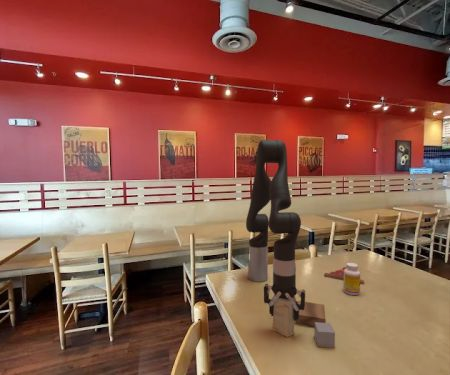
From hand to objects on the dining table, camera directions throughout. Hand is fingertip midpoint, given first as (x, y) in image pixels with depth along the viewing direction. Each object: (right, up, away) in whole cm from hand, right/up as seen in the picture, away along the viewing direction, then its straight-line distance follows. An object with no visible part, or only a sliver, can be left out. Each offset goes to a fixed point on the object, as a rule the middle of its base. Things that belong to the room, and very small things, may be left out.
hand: (284, 317), depth 88 cm
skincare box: (0, -5, 0) cm, 5 cm away
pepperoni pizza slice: (+44, -2, +48) cm, 65 cm away
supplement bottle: (+37, -3, +28) cm, 46 cm away
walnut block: (+12, -5, +8) cm, 15 cm away
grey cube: (+12, -5, -5) cm, 14 cm away
